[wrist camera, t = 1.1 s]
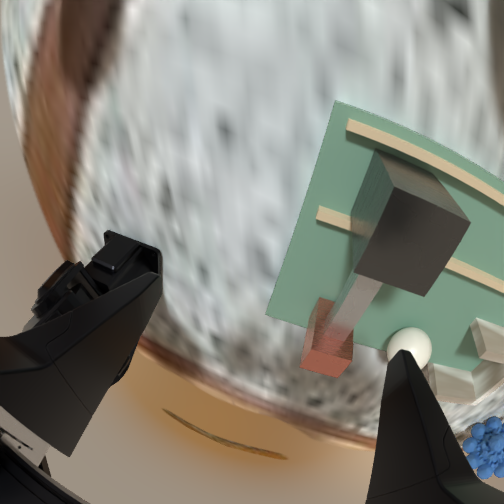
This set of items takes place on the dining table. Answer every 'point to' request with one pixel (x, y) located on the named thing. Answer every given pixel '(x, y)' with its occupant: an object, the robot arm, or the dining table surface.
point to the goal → (481, 377)
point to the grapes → (486, 448)
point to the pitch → (388, 297)
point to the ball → (411, 344)
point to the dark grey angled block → (385, 253)
